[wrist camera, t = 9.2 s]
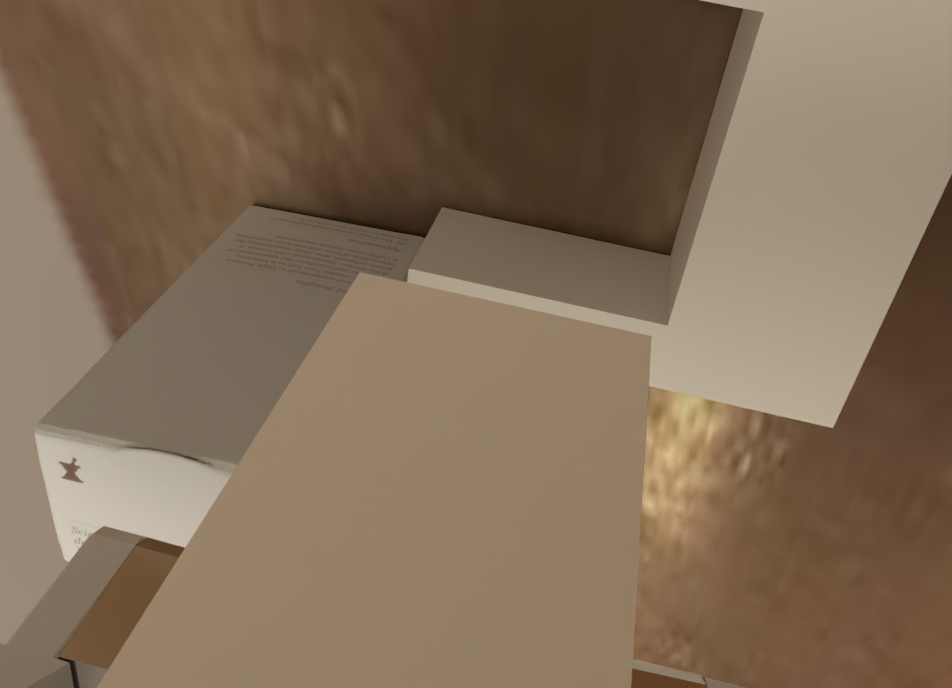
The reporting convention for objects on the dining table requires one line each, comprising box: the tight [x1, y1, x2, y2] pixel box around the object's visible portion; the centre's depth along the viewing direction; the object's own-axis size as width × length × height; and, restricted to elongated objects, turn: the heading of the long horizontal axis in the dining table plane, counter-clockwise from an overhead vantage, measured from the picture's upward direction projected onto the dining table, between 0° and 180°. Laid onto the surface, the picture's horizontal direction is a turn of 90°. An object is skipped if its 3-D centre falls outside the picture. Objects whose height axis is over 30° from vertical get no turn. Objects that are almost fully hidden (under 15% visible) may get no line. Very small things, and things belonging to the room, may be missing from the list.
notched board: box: [407, 0, 952, 428], centre depth 23 cm, size 12×14×4 cm
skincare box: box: [35, 206, 425, 562], centre depth 25 cm, size 6×4×12 cm
